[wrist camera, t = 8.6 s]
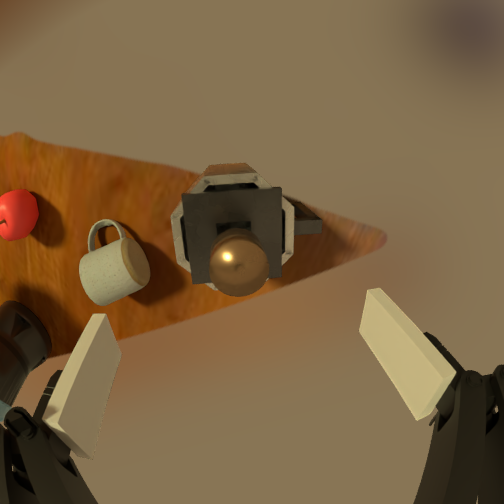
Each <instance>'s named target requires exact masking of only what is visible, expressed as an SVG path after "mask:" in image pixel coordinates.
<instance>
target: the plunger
mask: <svg viewBox="0 0 504 504" xmlns="http://www.w3.org/2000/svg"><path fill="white" fill-rule="evenodd" d="M244 188H252V187H251V186H250V185H249V184H248V183H233V184H218V185H211V186H209V187H208V188H207V190H206V191H215V190H229V189H244ZM216 226H217V237H216V239H215V240H214V242H213V243H212V246H211V251H210V265H209V274H210V278H211V281H212V283H213V284H214V286H215V287H216V288H217V289H218V290H219V291H221V292H223V293H224V294H227V295H230V296H236V297H241V296H247V295H250V294H252V293H254V292H256V291H257V290H259V289H260V288H261V287H262V286H263V285H264V283H265V282H266V280H267V278H268V275H269V263H268V260H267V257H266V255H265V252H264V249H263V247H262V244H261V242H260V240H259V239H258V237H257V236H256V235H255V234H253V233H252V232H250V231H251V229H250V221H240V222H227V223H216Z"/></svg>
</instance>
